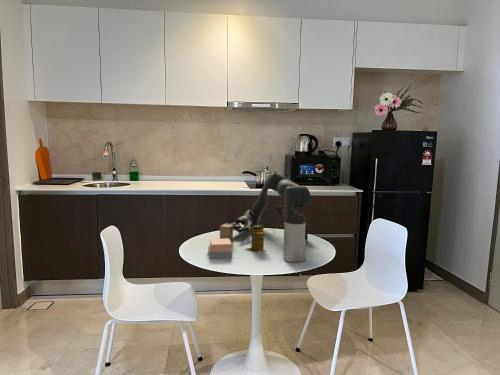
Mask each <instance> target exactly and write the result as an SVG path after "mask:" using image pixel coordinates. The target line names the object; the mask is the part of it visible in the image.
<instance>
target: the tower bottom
mask: <svg viewBox="0 0 500 375" xmlns="http://www.w3.org/2000/svg"><path fill="white" fill-rule="evenodd" d="M207 250H208V252H207V253H208V257H209V259H210V260H215V259H232V258H233V250H232V251H230V252H211V248H210V245H208V248H207Z"/></svg>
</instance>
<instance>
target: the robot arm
mask: <svg viewBox="0 0 500 375" xmlns="http://www.w3.org/2000/svg"><path fill="white" fill-rule="evenodd" d="M269 190H271V191H274V192H277V194H278V195H279V196H280V197H281V198H282V199H284V201H283V202H284V215H285V217H284V225H283V227H284V228H283V229H284V230H283V255H282V256H283V260H284V261H286V262H289V263H301V262H305V261H306V253H307V252H306V250H307V243H306V240H305V224H306V216H305V215H304V214H302V213H298V212H297V213H296V212H295V211H296V210H295V211H294V208H305V207H307V206H308V205H309V204H310V203H311V199H312V198H311V197H312V196H311V192H310V190H309V188H308V187H306V186H303V185H302V186H301V185H299V184H297V183H295V182H294V181H293V180H290V179H288V177H285V176H284V175H281V174H279V173H276V172H275V171H274V172H273V171H272V172H271V173H269V175H268V176H267V178H266V180H265V182H264V185H263V187H262V188H261V191H260V192H259V195H258V197H257V198H256V200H255V202H254V203H253V205H252V207H251V209H247V210H245V212H244V213H243V215H242V216H239V217H238V218H237V219H234V221H233V223H229V222H225V224H227V225H233V231H236V232H237V233H238V234H242V233H248V232H249V231H250V230H251V227H253V225H260V222H261V219H262V215H263V213H264V212H265V210H266V209H267V208H268V204H269V197H268V193H269V192H268V191H269Z"/></svg>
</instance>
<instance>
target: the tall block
mask: <svg viewBox="0 0 500 375" xmlns="http://www.w3.org/2000/svg"><path fill="white" fill-rule="evenodd" d="M219 239H229V240H230V242H231V244H232V246H233V244H234V230H233V225H227V224H226V223H224V224H221V225H220V226H219Z"/></svg>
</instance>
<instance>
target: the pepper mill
mask: <svg viewBox="0 0 500 375" xmlns="http://www.w3.org/2000/svg"><path fill="white" fill-rule="evenodd" d="M283 209H284V208H283V206H282V205H278V206H276V208H275V211H276V212H277V215H278V216H280V217H283V218H285V214H284V212H283ZM295 212H296V213H298V212H299V211H298V209H296V210H295ZM283 214H284V215H283ZM308 235H309V225H308V224H307V223H305V240H306V244H307V243H308V237H309V236H308Z"/></svg>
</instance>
